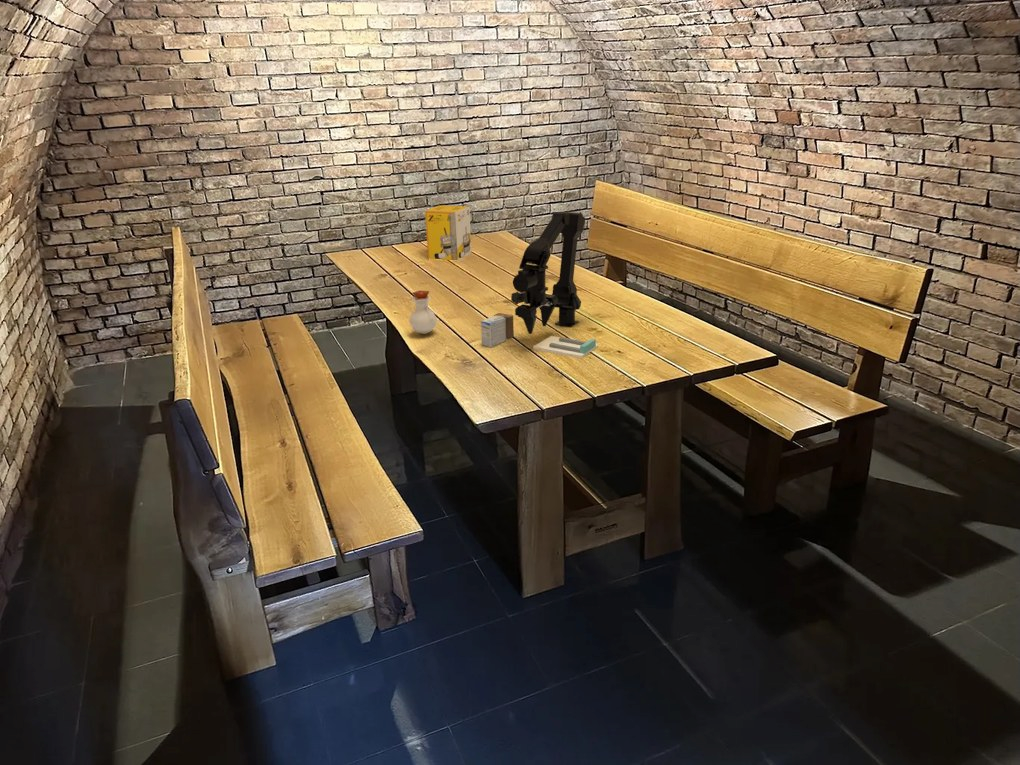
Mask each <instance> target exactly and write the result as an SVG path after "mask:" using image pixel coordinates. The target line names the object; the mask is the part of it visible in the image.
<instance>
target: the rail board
mask: <svg viewBox="0 0 1020 765" xmlns="http://www.w3.org/2000/svg"><path fill="white" fill-rule="evenodd" d="M598 347H599V344H597V340H596V339H595V338H590V339H588V340H587V341H584V340H578V339H575V338H574V339H572V338H567V337H562V336H560V337H558V336H554V335H550V336H548V337H547V338H544V339H543V340H542V341H540V342H538V343H537V344H535V345H533V346H532V350H535V351H540V352H544V353H545V352H546V353H550V354H556V355H561V356H565V357H566V356H567V357H571V358H577V359H583V358H584V357H585V356H587V355H589V354H590V353H591V352H592V351H593V350H595V349H596V348H598Z"/></svg>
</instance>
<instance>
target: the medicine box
mask: <svg viewBox="0 0 1020 765" xmlns="http://www.w3.org/2000/svg"><path fill="white" fill-rule="evenodd" d="M480 330H481V331H480V335H481V336H480V337H481V345H482V346H485V347H488V348H493V347H495V346H497V345H499V344H502V343H504V342H506V340H507V339H506V321H505V318H504V317H501V316H494V315H493V316H490V317H488V318H485V319H483V320H481V321H480Z"/></svg>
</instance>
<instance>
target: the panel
mask: <svg viewBox="0 0 1020 765" xmlns="http://www.w3.org/2000/svg"><path fill="white" fill-rule="evenodd" d="M493 316H501V317H504V318H505V321H506V340H510V339H512V338H513V337H515V336H514V335H515V334H514V333H515V332H514V328H515V327H514V315H513V314H508V313H503V312H502V313H501V312H498V313H495V314H494V315H493Z"/></svg>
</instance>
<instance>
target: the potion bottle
mask: <svg viewBox="0 0 1020 765" xmlns="http://www.w3.org/2000/svg"><path fill="white" fill-rule="evenodd" d="M411 293H412V295H413V297H411V300H412V302H413V303H414V304H415V305H414V306H415V309H414V310H413V312H411V314H410V315H409V324H410V326H411V329H412V330H413V331H415V333H417V334H422V335H423V334H428V333H431V332H432V331H433V330H434V329H435V328H436V325H437V317H436V315H435V312H434V311H432V310H431V309H430V308H429V303H428V302H429V301H430V300H431V296H430V295H429V293H430V291H429V290H417V291H414V292H411Z"/></svg>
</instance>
